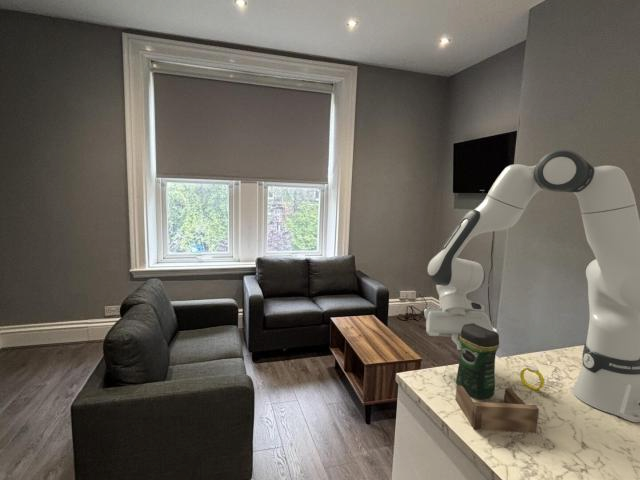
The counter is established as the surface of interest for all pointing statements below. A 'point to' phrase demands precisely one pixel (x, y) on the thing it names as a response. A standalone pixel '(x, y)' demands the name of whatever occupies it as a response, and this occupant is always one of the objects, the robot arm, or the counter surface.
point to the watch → (535, 370)
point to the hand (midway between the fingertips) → (463, 349)
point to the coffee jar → (477, 361)
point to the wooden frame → (499, 413)
